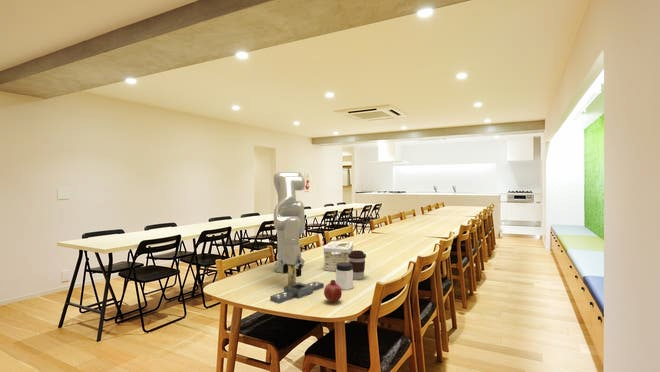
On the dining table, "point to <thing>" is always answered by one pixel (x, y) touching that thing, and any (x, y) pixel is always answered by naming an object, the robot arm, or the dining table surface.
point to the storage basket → (336, 254)
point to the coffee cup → (357, 264)
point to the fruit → (332, 291)
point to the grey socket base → (296, 291)
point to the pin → (291, 274)
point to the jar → (344, 275)
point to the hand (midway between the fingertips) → (292, 274)
